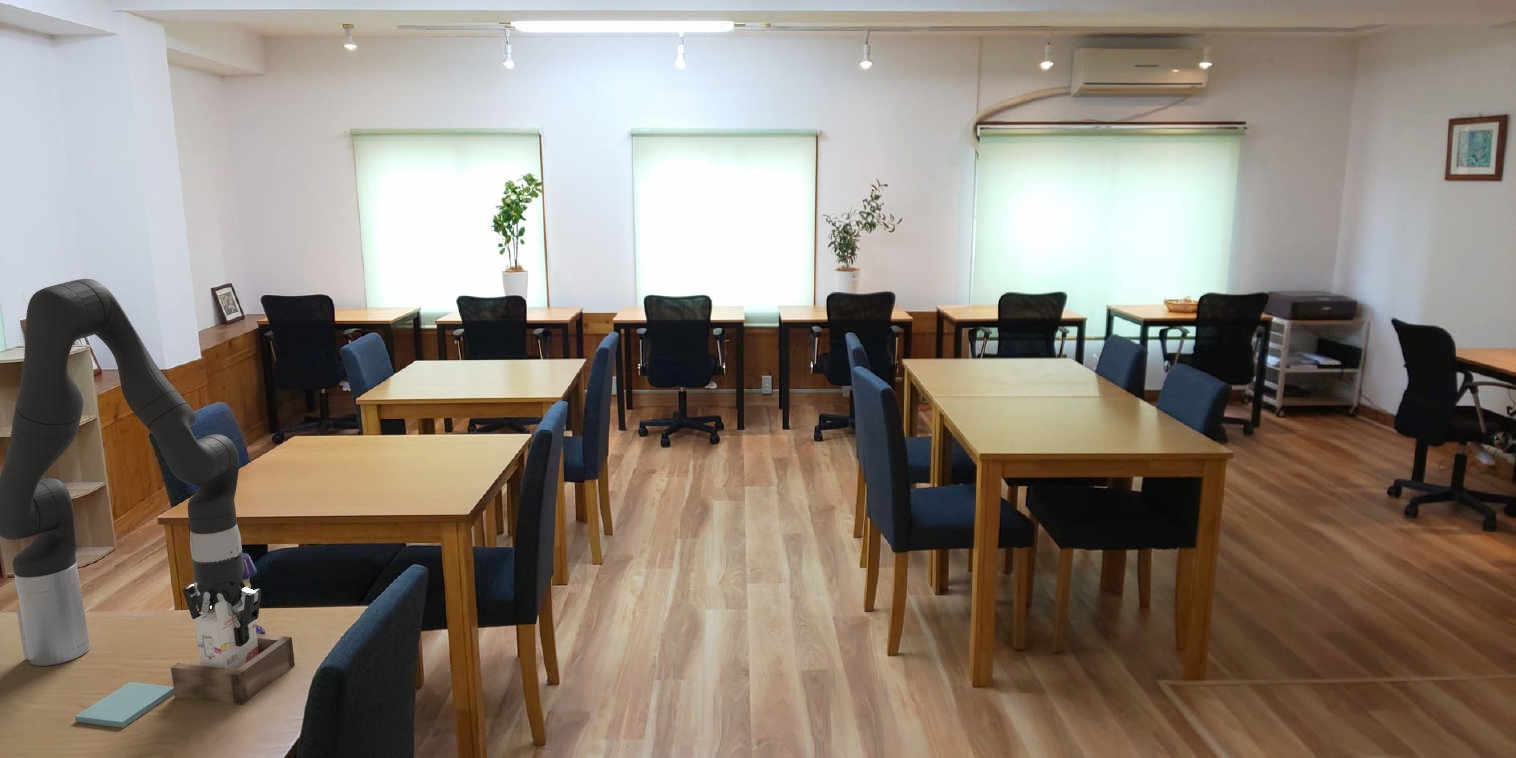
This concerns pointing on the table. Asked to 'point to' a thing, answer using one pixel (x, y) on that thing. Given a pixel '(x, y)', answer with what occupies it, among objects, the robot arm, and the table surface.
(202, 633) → the ink cartridge box
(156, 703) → the teal coaster
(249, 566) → the toy lamp
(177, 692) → the walnut cubby
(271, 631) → the table surface
